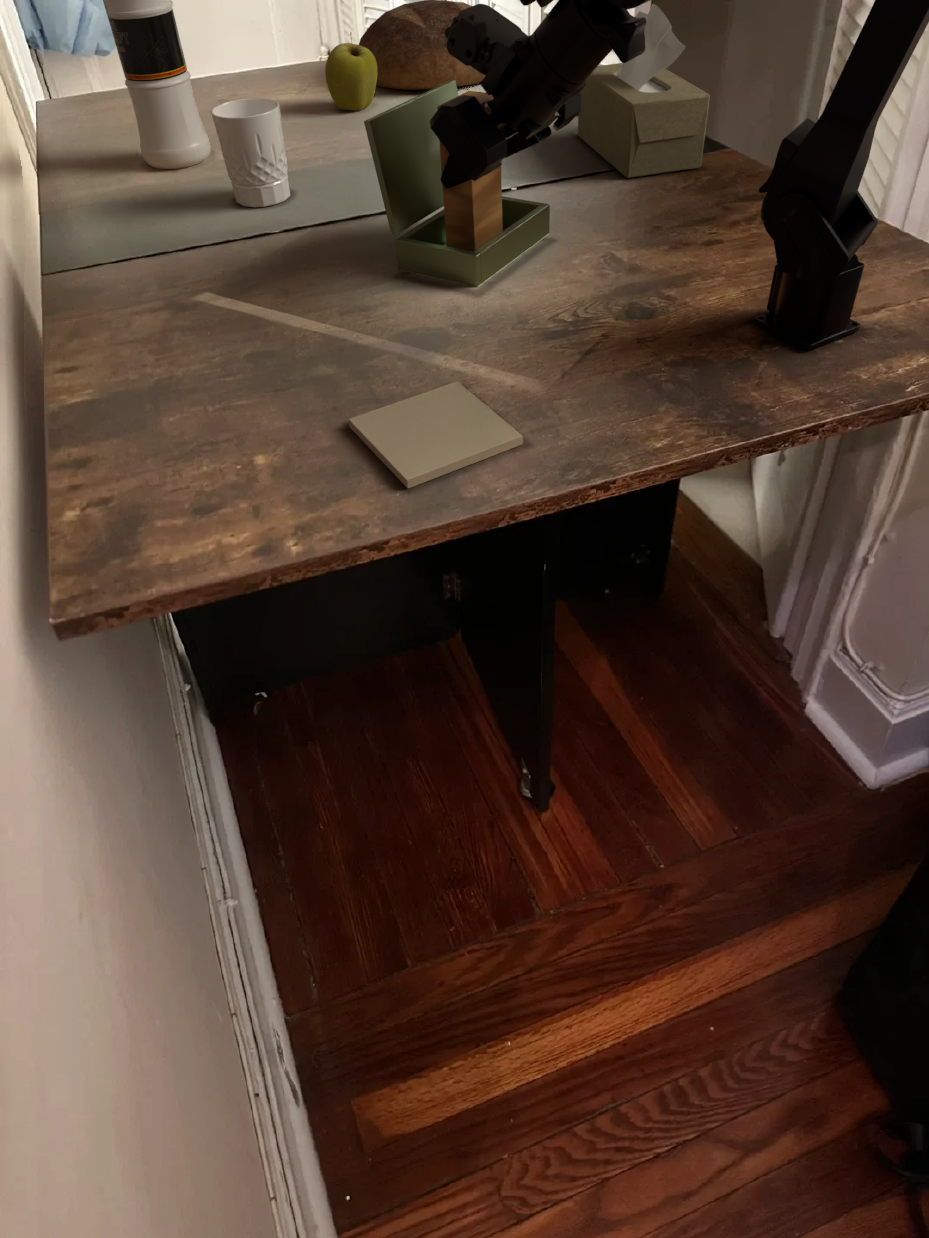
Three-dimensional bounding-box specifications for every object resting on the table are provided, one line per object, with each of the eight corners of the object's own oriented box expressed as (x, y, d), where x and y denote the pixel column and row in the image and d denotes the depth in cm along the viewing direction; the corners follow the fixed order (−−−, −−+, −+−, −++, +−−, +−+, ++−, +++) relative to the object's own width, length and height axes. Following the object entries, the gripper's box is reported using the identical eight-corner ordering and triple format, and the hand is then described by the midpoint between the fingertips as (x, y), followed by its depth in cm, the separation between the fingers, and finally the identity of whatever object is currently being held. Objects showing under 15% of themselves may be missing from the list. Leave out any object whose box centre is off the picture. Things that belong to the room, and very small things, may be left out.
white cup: (218, 205, 108) (196, 114, 101) (257, 183, 112) (239, 95, 105) (270, 213, 105) (251, 120, 98) (307, 191, 110) (292, 101, 103)
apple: (316, 98, 136) (325, 23, 130) (366, 108, 139) (377, 35, 133) (326, 111, 130) (336, 34, 124) (377, 122, 133) (389, 46, 127)
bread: (374, 104, 135) (366, 29, 129) (345, 65, 154) (336, -3, 147) (534, 82, 139) (534, 8, 133) (486, 47, 158) (484, -20, 151)
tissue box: (702, 169, 107) (722, 15, 96) (627, 180, 106) (638, 25, 95) (644, 126, 121) (655, -14, 109) (576, 135, 119) (581, -5, 108)
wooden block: (503, 244, 92) (499, 94, 83) (475, 263, 89) (468, 110, 79) (475, 238, 94) (468, 90, 84) (447, 257, 91) (436, 106, 81)
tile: (523, 444, 67) (523, 435, 66) (407, 489, 64) (406, 480, 63) (457, 389, 73) (457, 381, 73) (349, 427, 70) (348, 418, 69)
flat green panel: (455, 80, 89) (450, 80, 89) (369, 120, 80) (363, 121, 81) (474, 187, 95) (469, 187, 96) (396, 235, 87) (391, 235, 87)
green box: (549, 240, 94) (549, 204, 92) (477, 294, 86) (476, 256, 83) (474, 226, 98) (472, 191, 96) (398, 277, 90) (394, 239, 87)
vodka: (202, 170, 118) (130, -122, 96) (136, 172, 118) (49, -116, 97) (220, 147, 124) (156, -130, 103) (157, 150, 125) (80, -125, 104)
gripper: (555, -50, 78) (459, 80, 91) (440, -9, 68) (349, 132, 80) (629, 59, 81) (526, 171, 93) (529, 116, 70) (427, 234, 82)
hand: (460, 174), depth 87 cm, fingers closed on wooden block, 5 cm apart
